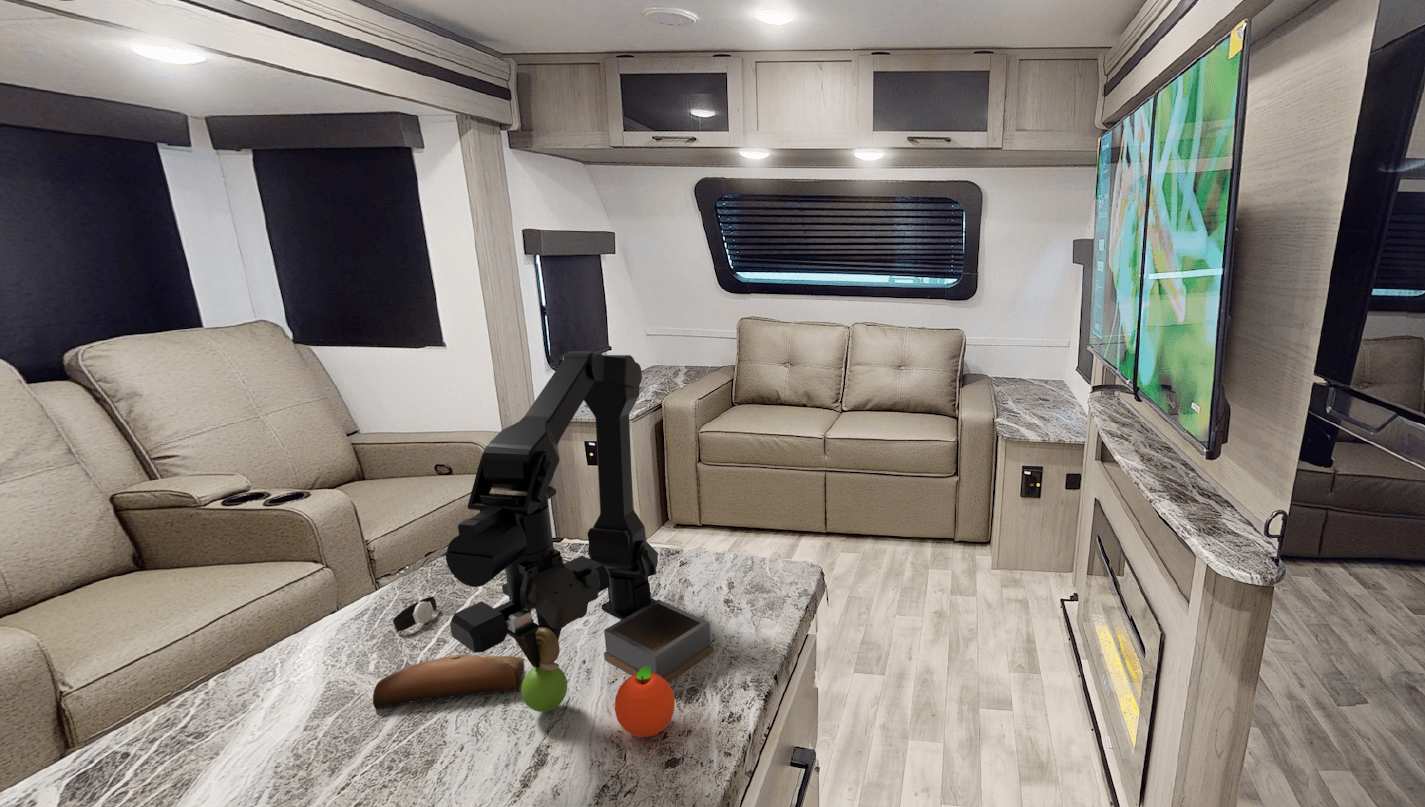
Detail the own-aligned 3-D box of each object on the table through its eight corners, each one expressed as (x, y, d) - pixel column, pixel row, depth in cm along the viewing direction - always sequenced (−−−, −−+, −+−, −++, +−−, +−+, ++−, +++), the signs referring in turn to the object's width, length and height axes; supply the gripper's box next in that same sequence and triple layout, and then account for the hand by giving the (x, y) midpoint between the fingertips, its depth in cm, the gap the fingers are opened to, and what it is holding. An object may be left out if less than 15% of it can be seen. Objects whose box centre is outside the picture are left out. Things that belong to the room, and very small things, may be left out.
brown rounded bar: (528, 655, 96) (520, 631, 92) (525, 705, 91) (516, 683, 87) (394, 670, 94) (379, 647, 90) (384, 723, 89) (367, 701, 85)
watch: (410, 637, 103) (407, 615, 102) (385, 633, 104) (381, 611, 104) (445, 610, 110) (442, 590, 109) (421, 607, 112) (418, 586, 111)
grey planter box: (604, 659, 94) (601, 630, 93) (660, 625, 102) (658, 598, 101) (657, 690, 87) (654, 658, 86) (713, 651, 95) (711, 622, 94)
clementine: (623, 705, 85) (618, 653, 83) (679, 703, 85) (675, 652, 83) (612, 752, 77) (606, 696, 76) (674, 750, 77) (669, 695, 75)
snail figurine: (541, 687, 89) (541, 599, 87) (576, 706, 85) (576, 614, 83) (507, 707, 84) (505, 614, 82) (542, 727, 81) (541, 630, 79)
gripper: (491, 599, 68) (511, 734, 72) (634, 534, 81) (644, 651, 85) (438, 567, 76) (458, 691, 79) (576, 512, 89) (588, 621, 93)
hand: (542, 663), depth 84 cm, fingers closed on snail figurine
